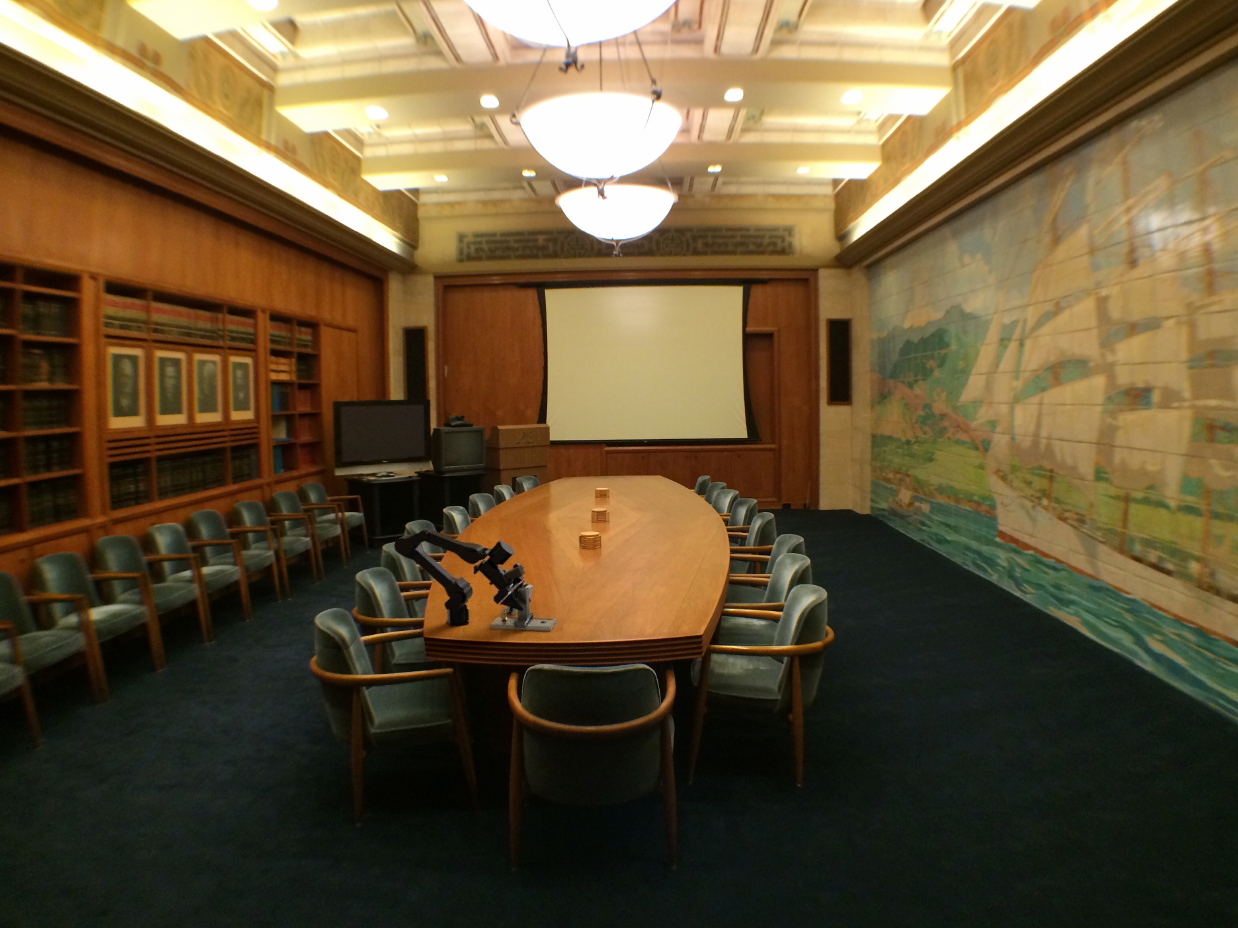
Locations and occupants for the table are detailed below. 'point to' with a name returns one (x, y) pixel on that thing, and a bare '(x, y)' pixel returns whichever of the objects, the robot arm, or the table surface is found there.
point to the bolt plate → (532, 623)
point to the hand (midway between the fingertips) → (526, 605)
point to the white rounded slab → (512, 610)
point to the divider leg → (524, 614)
